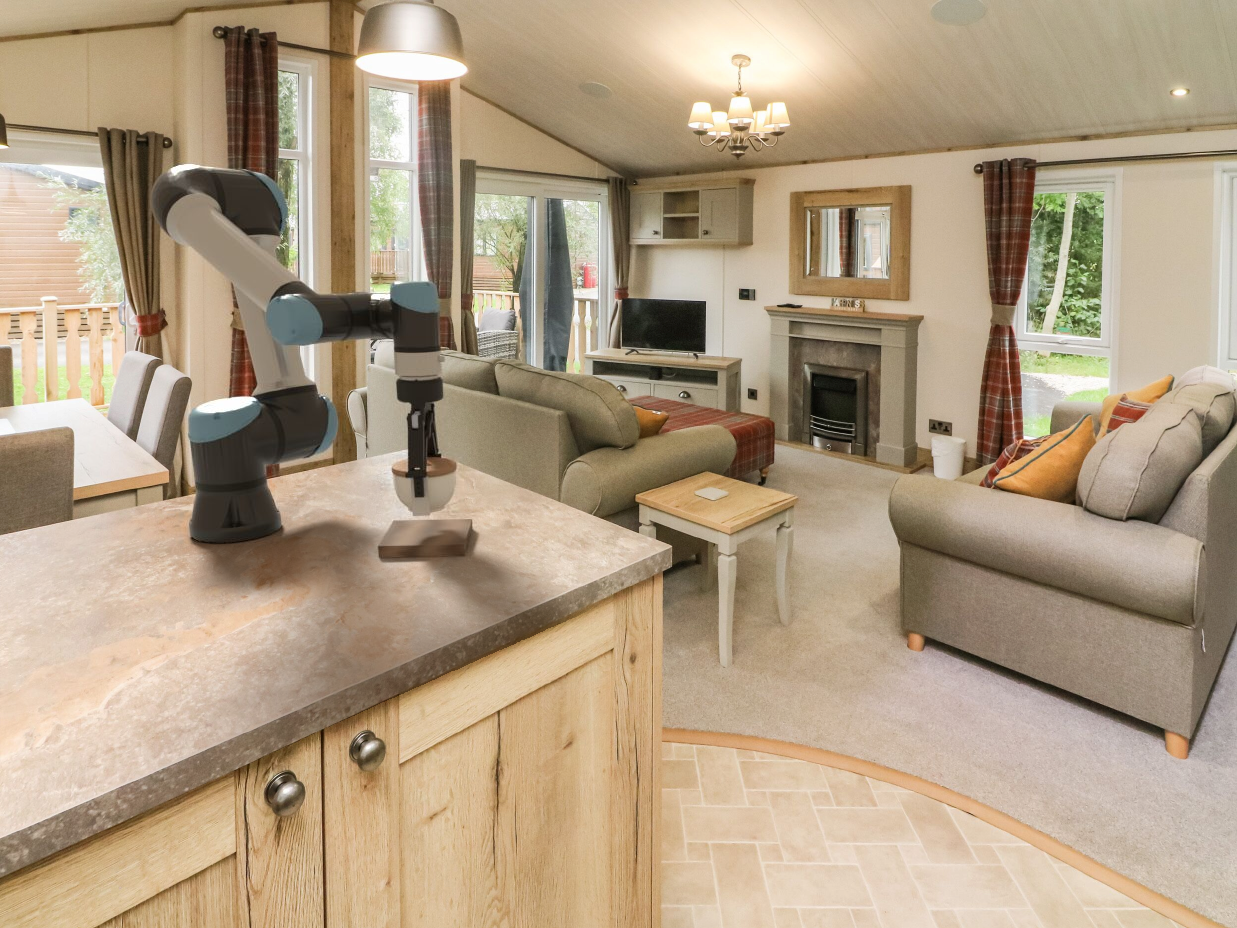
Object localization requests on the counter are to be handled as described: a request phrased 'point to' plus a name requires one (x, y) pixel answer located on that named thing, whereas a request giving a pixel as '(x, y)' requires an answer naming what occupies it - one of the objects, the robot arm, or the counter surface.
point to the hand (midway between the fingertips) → (426, 505)
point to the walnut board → (426, 538)
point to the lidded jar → (438, 479)
